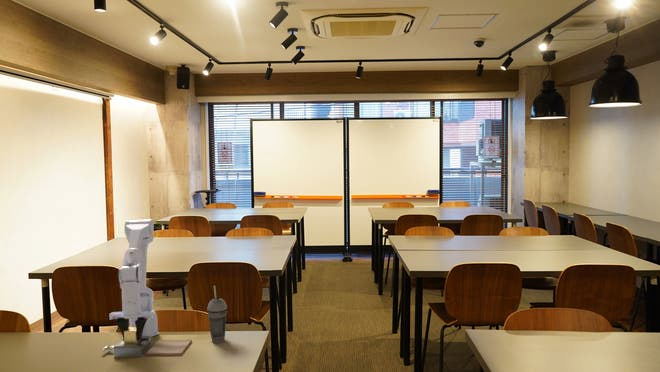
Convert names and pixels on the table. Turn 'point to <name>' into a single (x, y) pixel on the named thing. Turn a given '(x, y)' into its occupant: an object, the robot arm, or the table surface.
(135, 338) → the peg
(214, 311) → the beverage cup
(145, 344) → the vise
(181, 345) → the board
